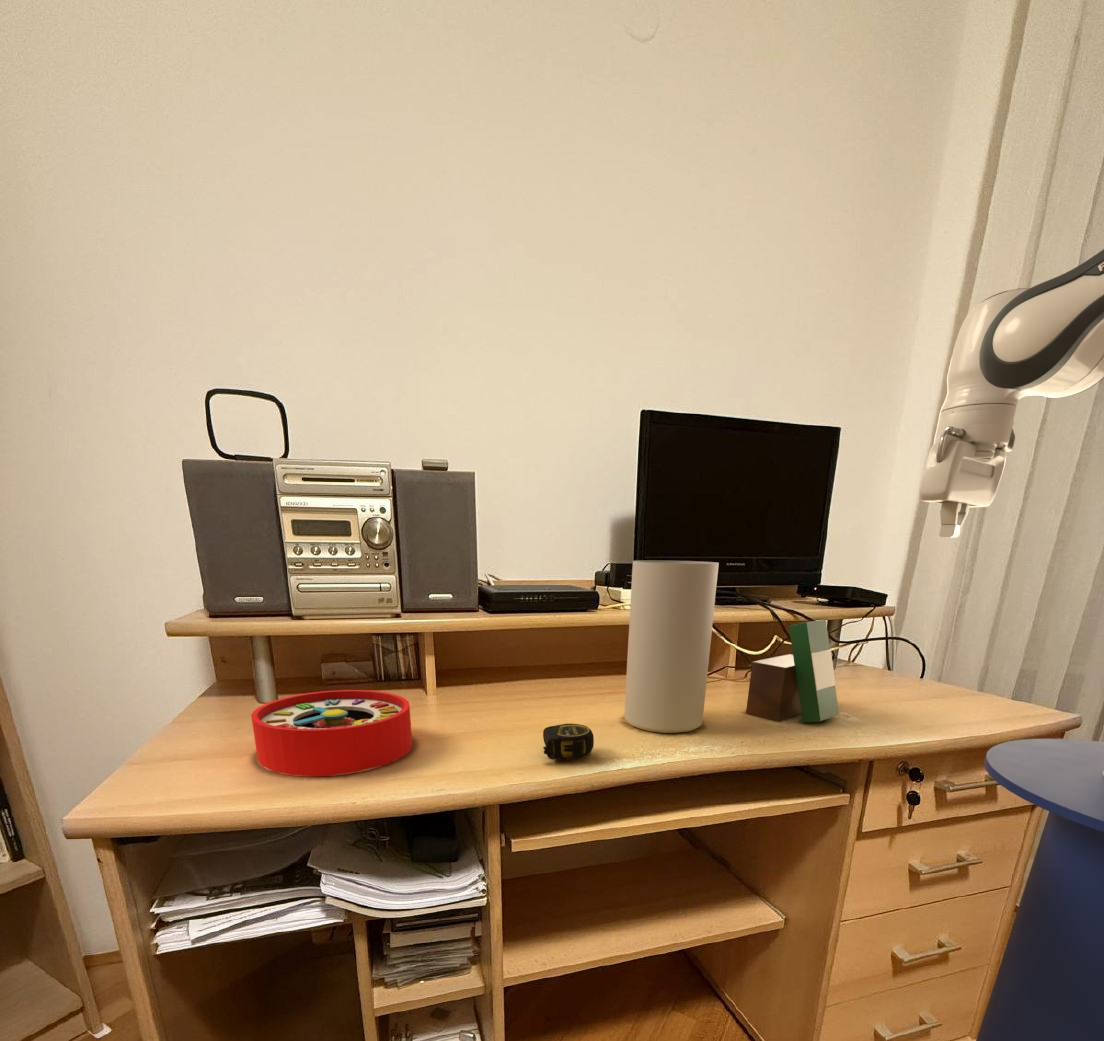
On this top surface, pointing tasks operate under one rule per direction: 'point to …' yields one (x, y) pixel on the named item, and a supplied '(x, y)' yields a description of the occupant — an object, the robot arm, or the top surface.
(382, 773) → the top surface
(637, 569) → the cylinder vase
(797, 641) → the block
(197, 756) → the top surface
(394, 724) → the toy clock
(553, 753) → the tape measure
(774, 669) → the block
